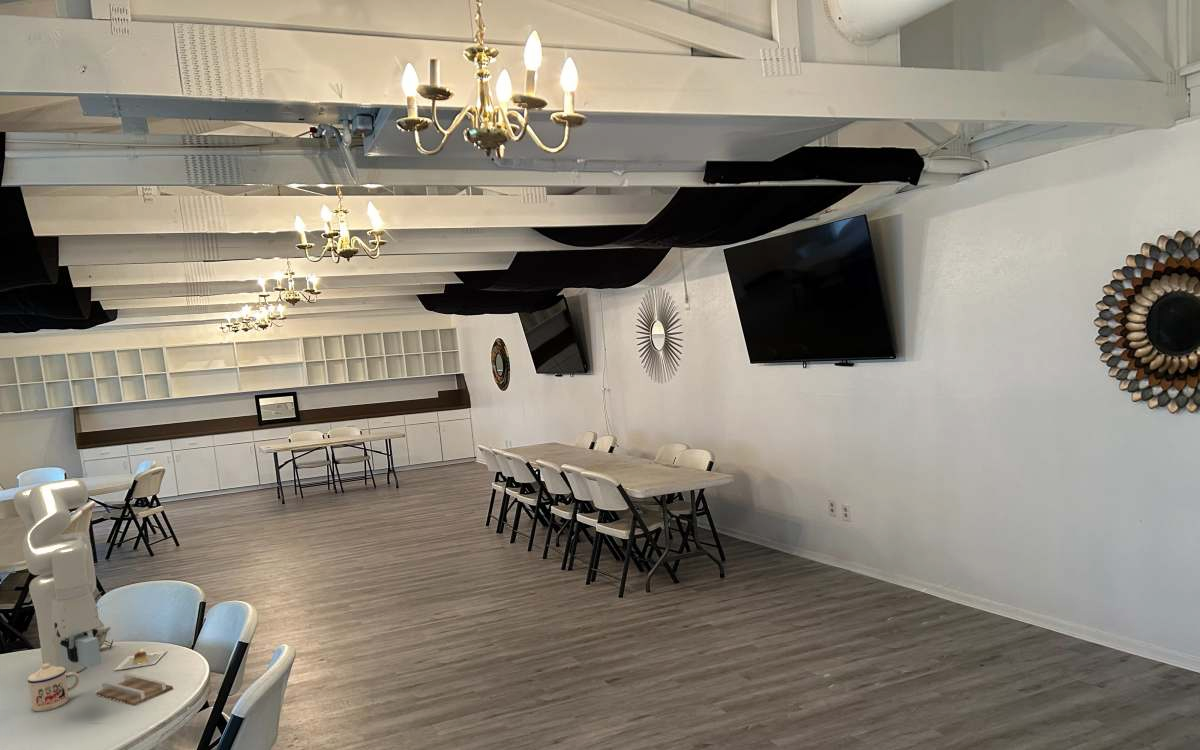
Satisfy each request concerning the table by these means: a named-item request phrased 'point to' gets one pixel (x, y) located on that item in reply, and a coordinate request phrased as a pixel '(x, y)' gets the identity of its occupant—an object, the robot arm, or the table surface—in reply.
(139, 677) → the bottom track
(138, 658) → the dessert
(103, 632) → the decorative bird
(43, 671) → the teacup with lid
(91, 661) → the door panel
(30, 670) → the table surface
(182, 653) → the table surface
